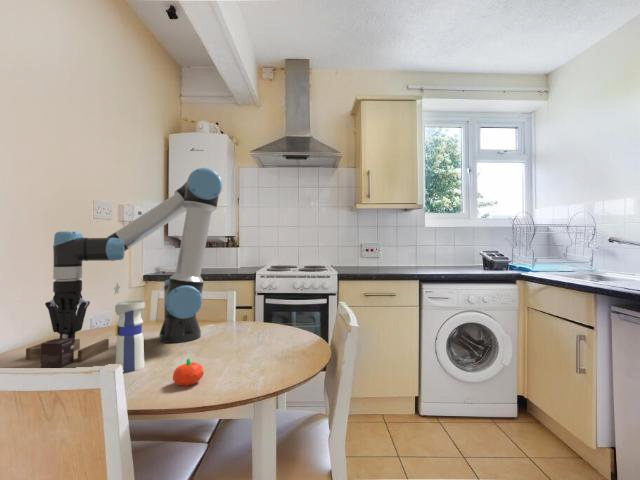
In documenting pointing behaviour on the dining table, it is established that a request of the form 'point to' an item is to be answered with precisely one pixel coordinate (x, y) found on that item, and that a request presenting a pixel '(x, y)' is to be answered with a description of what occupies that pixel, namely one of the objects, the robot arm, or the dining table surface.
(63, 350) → the box
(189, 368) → the tomato
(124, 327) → the water bottle
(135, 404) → the dining table surface
